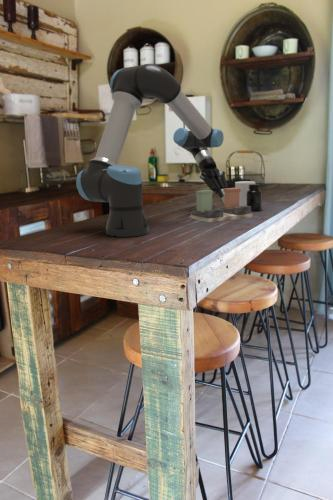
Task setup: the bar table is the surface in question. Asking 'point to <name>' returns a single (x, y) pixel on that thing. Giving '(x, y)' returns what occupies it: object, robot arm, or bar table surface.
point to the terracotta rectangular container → (231, 197)
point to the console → (222, 214)
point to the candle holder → (243, 191)
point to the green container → (204, 200)
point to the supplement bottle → (254, 197)
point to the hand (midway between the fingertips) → (227, 202)
